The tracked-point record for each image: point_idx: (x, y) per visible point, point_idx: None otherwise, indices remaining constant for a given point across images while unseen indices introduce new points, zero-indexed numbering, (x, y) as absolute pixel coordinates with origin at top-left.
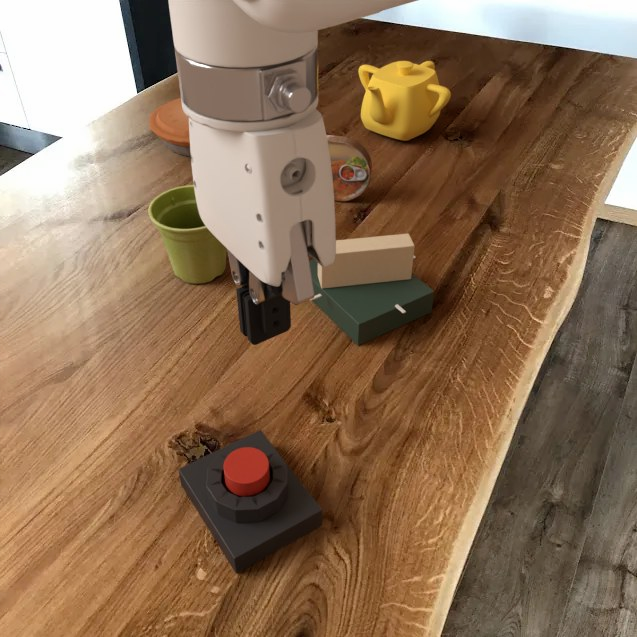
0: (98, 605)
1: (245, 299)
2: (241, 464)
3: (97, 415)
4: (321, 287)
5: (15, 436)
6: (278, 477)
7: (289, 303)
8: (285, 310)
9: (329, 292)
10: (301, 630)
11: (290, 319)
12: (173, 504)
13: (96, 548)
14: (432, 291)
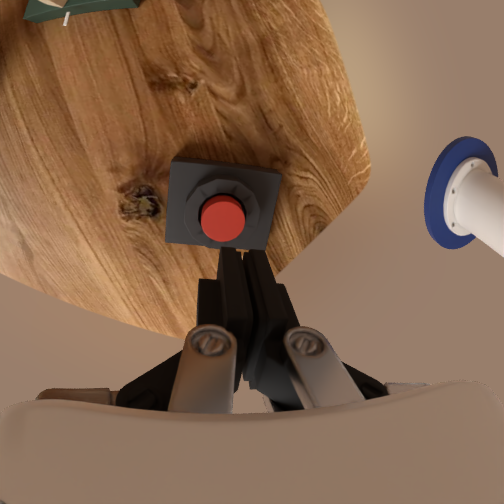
0: None
1: (255, 388)
2: (220, 225)
3: (71, 250)
4: (61, 7)
5: (69, 298)
6: (244, 196)
7: (274, 283)
8: (292, 307)
9: (72, 2)
10: (320, 232)
11: (267, 259)
12: (180, 245)
13: (181, 297)
14: None
